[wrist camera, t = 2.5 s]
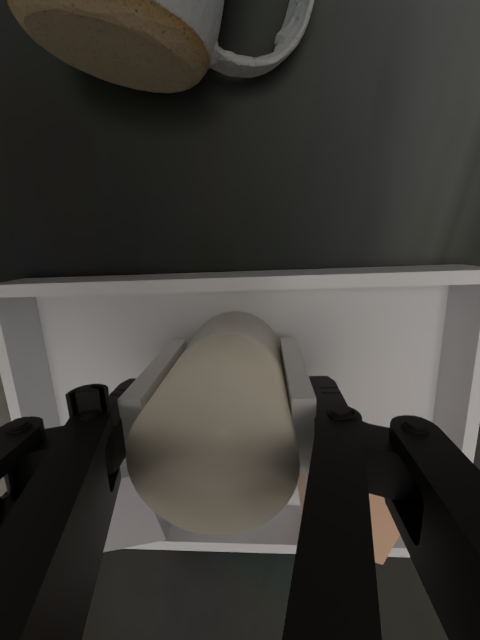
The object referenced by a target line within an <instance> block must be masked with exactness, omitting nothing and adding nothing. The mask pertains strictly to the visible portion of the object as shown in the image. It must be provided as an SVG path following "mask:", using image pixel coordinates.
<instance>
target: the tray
mask: <svg viewBox="0 0 480 640" xmlns="http://www.w3.org/2000/svg"><path fill="white" fill-rule="evenodd" d="M232 311H239V312H246V313H249V314H252V315H254V316H257V317H258V318H260V319H262V320H263V321H264V322H266V323H267V324H268V325H269V326H270V327H271V328H272V330H273V331H274V333H275V334H276V336H277V338H278V341H279V344H280V337H295V338H296V341H297V344H298V347H299V350H300V353H301V356H302V359H303V361H304V364H305V367H306V370H307V373H308V376H328V377H330V378H331V379H333V380H334V381H335V382H336V384H337V386H338V388H339V390H340V391H341V393H342V395H343V397H344V399H345V401H346V403H347V405H348V406H349V407H351V408H354V409H356V410H357V411H358V412H359V413H360V414H361V416H362V421H364V422H366V423H369V424H373V425H378V426H383V427H389V428H390V422H391V420H392V418H394V417H396V416H402V415H410V416H411V415H414V416H418V417H422V418H424V419H426V420H429V421H431V422H433V423H434V424H435V425H437V426H438V427H439V428H440V429H441V430H442V431H443V432H444V433H445V434H446V435H447V436H448V437H449V438H450V439H451V441H452V442H453V443H454V444H455V445H456V446H457V447H458V448H459V449H460V450H461V451H462V452H463V453H464V454H465V455H466V456H467V458H468V459H469V460H470V461H471V462H472V463H473V461H474V455H475V449H476V442H477V436H478V430H479V423H480V266H472V265H464V264H448V265H417V266H386V267H355V268H324V269H293V270H263V271H232V272H201V273H170V274H139V275H108V276H77V277H46V278H24V279H17V280H11V281H5V282H0V374H1V379H2V383H3V387H4V392H5V396H6V400H7V405H8V409H9V413H10V417H11V421H13V420H14V419H17V418H21V417H31V416H35V417H40V418H42V419H43V422H44V427H45V429H47V428H52V427H58V426H64V425H65V424H66V422H67V421H68V419H69V412H68V407H67V401H66V396H65V394H67V393H68V392H69V391H71V390H73V389H75V388H77V387H80V386H83V385H89V384H104V385H106V386H108V390H109V395H110V393H111V392H112V391H114V389H115V388H116V387H117V386H118V385H119V384H120V383H122V382H124V381H126V380H128V379H130V378H137V377H138V376H139V375H140V374H141V373H142V372H143V371H144V370H145V368H146V367H147V366H148V365H149V364H150V363H151V362H152V361H153V360H154V359H155V357H156V356H157V355H158V354H159V353H160V352H161V351H162V350H163V349H164V347H165V346H166V345H167V344H168V343H169V342H170V341H171V340H172V339H186V342H187V346H188V344H189V343H190V341H191V340H192V339H193V337H194V336H195V334H196V333H197V331H198V330H199V329H200V328H201V326H202V325H203V324H204V323H205V322H206V321H208V320H209V319H210V318H212V317H214V316H216V315H218V314H221V313H225V312H232ZM299 475H300V474H299ZM301 518H302V511H301V504H300V498H299V491H298V484H297V486H296V489H295V491H294V493H293V495H292V497H291V499H290V500H289V502H288V503H287V505H286V506H285V507H284V508H283V509H282V511H281V512H279V513H278V514H277V515H276V516H275V517H274V518H272V519H271V520H270V521H268V522H267V523H265V524H263V525H261V526H259V527H257V528H255V529H252V530H250V531H247V532H243V533H239V534H232V535H217V536H216V535H205V534H200V533H195V532H191V531H188V530H185V529H182V528H180V527H177V526H175V525H173V524H171V527H170V530H169V533H168V537H167V540H163V541H158V542H153V543H148V544H143V545H138V546H133V547H128V548H123V549H152V550H185V551H218V552H250V553H283V554H296V549H297V543H298V537H299V530H300V524H301ZM388 557H410V555H409V553H408V551H407V548H406V546H405V544H404V542H403V540H402V538H401V535H400V536H399V537H398V539H397V541H396V543H395V544H394V546H393V548H392V550H391V551H390V553H389V555H388Z"/></svg>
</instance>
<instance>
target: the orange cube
mask: <svg viewBox="0 0 480 640" xmlns="http://www.w3.org/2000/svg"><path fill="white" fill-rule="evenodd" d="M307 480H308V474H300V475H299V479H298V483H297V484H298V491H299V498H300V504H301V511H303V505H304V499H305V492H306V486H307ZM369 501H370V512H371V523H372V535H373V546H374V557H375V562H376V563H379V564H382V565H383V564H384V562H385V560H386V558H387V557H388V555H389V553H390V551H391V550H392V548H393V546H394V544H395V543H396V541H397V539H398V537H399V536H400V533H399V531H398V529H397V527H396V525H395V523H394V520H393V518H392V516H391V514H390V512H389V510H388V507H387V505H386V503H385V499H384V497H381V496H377V495H373V494H369Z"/></svg>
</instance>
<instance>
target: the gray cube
mask: <svg viewBox="0 0 480 640" xmlns="http://www.w3.org/2000/svg"><path fill="white" fill-rule="evenodd" d="M120 471H121V482H120V486H119V490H118V494H117V498H116V502H115V506H114V511H113V515H112V519H111V523H110V527H109V531H108V535H107V539H106V543H105V547H104V551H103V552H107V551H113V550H118V549H123V548H128V547H133V546H138V545H143V544H148V543H153V542H158V541H163V540H167V537H168V533H169V530H170V527H171V523H170V522H168V521H166V520H164V519H163V518H162V517H160V516H159V515H157V514H156V513H155V512H154V511H153V510H152V509H150V508H149V507H148V505H147V504H146V503H145V502H144V501H143V500H142V499H141V497H140V496H139V494H138V493H137V491H136V489H135V488H134V486H133V484H132V482H131V479H130V476H129V473H128V470H127V464H126V457H125V459H124V460H123V462H122V464H121V465H120Z"/></svg>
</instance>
